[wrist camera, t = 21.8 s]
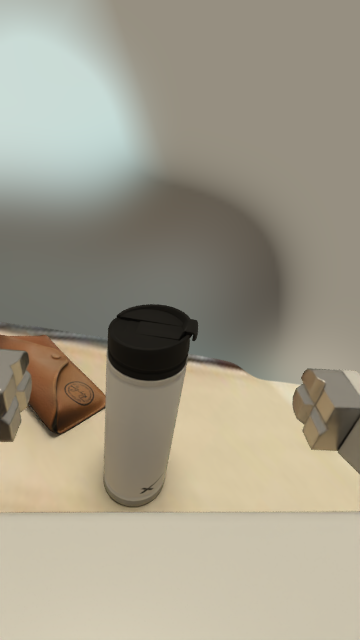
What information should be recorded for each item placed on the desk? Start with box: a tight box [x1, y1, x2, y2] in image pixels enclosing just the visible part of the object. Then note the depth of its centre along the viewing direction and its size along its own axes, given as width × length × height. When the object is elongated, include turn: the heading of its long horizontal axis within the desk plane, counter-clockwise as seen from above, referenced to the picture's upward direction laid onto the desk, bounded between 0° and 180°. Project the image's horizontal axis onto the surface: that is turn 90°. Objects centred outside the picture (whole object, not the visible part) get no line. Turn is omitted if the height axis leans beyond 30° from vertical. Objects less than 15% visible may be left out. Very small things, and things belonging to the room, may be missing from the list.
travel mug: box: [104, 304, 198, 506], centre depth 30 cm, size 6×7×20 cm
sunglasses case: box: [0, 335, 106, 434], centre depth 44 cm, size 18×7×7 cm
